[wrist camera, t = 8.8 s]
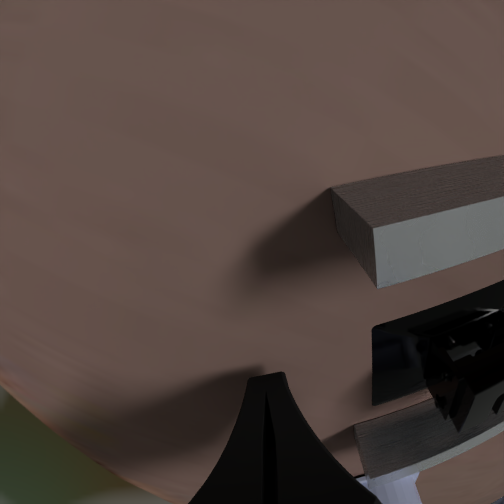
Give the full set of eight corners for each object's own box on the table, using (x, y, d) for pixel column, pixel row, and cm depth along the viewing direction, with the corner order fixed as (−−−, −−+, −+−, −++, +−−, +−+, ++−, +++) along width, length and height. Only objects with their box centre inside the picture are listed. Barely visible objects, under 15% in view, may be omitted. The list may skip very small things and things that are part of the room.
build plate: (340, 413, 15) (359, 486, 11) (328, 306, 12) (361, 397, 8) (520, 343, 14) (558, 391, 10) (546, 237, 11) (605, 280, 7)
